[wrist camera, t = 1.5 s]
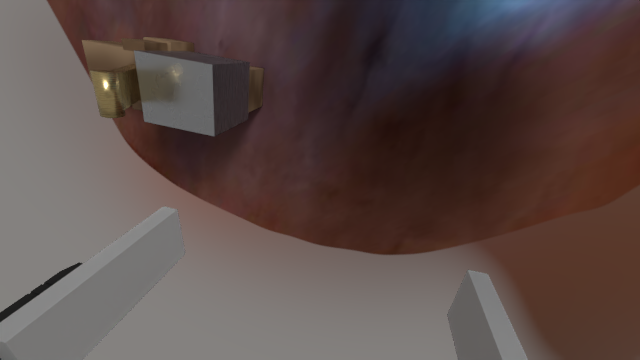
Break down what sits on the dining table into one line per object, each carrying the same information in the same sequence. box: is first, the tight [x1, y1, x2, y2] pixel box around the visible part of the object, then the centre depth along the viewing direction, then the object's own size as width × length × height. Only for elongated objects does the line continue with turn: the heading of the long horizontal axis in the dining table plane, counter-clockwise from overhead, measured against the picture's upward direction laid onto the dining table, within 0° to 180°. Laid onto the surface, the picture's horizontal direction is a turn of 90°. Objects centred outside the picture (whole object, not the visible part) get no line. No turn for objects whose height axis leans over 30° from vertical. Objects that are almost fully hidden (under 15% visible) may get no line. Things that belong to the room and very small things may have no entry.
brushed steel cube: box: [134, 50, 250, 137], centre depth 26 cm, size 6×7×7 cm
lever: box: [90, 63, 141, 118], centre depth 24 cm, size 4×2×11 cm, turn 171°
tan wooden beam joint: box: [82, 37, 264, 112], centre depth 30 cm, size 7×20×7 cm, turn 81°
